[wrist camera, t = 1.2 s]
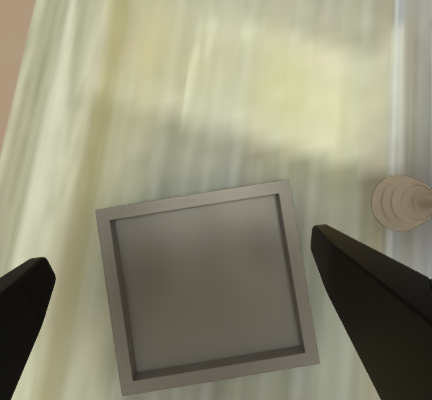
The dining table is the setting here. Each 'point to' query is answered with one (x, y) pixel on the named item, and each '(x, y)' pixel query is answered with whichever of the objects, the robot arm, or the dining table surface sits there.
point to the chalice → (402, 203)
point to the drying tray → (206, 287)
